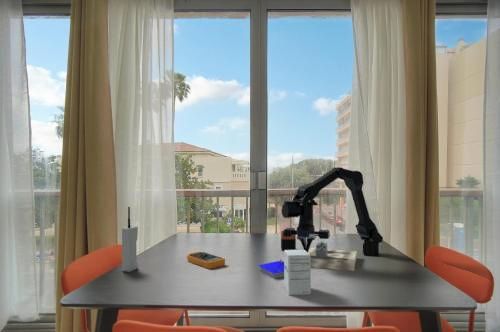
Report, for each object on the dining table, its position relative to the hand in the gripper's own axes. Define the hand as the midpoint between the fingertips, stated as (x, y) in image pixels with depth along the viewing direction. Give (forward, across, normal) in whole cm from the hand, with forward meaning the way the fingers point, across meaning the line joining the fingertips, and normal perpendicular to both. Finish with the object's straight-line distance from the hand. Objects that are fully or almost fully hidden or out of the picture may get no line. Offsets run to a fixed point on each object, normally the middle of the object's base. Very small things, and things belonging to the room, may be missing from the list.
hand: (306, 253), depth 144 cm
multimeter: (+4, -40, -14) cm, 43 cm away
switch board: (+4, +9, +5) cm, 11 cm away
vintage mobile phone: (+4, -64, -32) cm, 71 cm away
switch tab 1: (+1, +5, +10) cm, 11 cm away
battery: (+4, -13, +20) cm, 24 cm away
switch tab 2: (+1, +6, 0) cm, 6 cm away
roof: (+4, -8, -16) cm, 18 cm away
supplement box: (+4, +3, -33) cm, 34 cm away
